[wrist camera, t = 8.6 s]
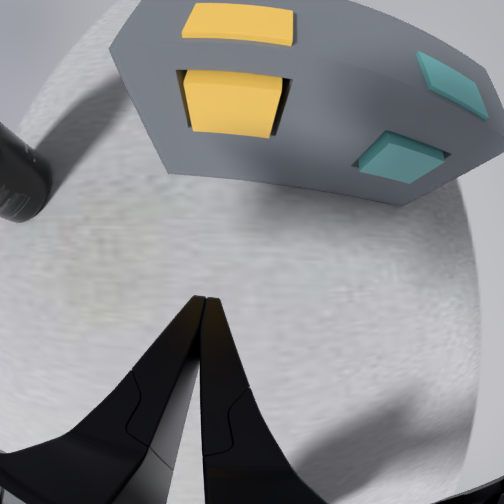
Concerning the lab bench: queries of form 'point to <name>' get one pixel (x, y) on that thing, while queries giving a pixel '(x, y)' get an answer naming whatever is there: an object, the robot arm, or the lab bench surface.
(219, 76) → the amber button
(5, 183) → the supplement bottle
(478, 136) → the button panel
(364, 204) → the lab bench surface
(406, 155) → the teal button
